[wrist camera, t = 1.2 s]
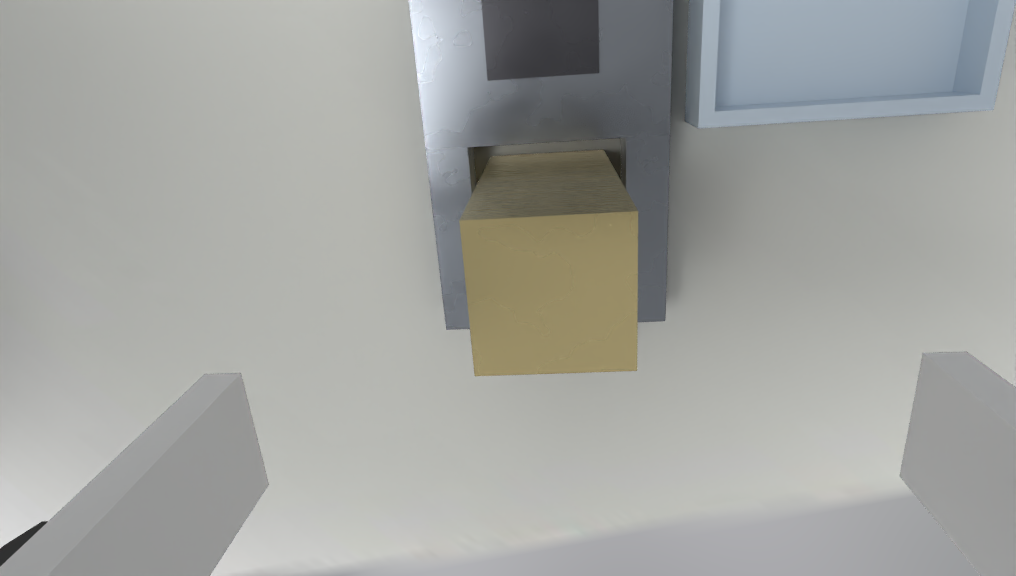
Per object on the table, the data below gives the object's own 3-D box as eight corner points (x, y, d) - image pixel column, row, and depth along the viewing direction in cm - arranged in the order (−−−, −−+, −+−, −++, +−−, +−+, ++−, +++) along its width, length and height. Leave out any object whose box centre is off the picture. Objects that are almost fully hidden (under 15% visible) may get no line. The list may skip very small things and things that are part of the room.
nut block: (498, 261, 30) (474, 376, 19) (490, 156, 28) (459, 220, 18) (604, 256, 29) (636, 370, 19) (603, 149, 27) (638, 211, 17)
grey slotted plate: (452, 312, 31) (446, 330, 29) (391, -238, 23) (377, -265, 21) (657, 303, 30) (665, 321, 28) (668, -269, 22) (681, -300, 20)
